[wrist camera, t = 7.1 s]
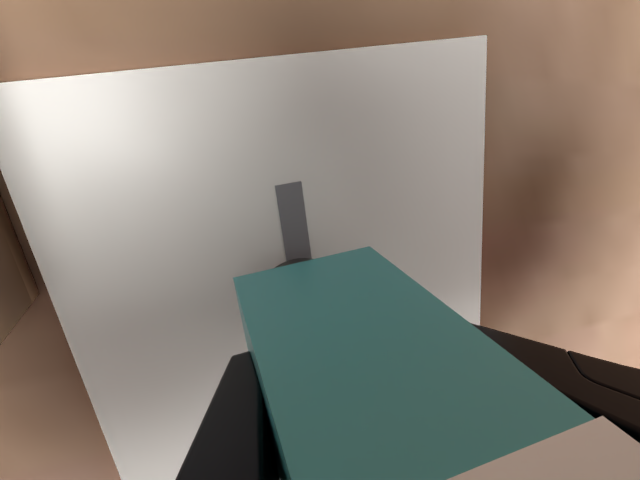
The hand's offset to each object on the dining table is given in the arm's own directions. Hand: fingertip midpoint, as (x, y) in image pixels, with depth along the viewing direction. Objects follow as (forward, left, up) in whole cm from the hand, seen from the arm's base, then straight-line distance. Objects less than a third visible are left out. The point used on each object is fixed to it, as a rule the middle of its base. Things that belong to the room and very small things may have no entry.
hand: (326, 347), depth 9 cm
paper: (-2, 0, -3) cm, 4 cm away
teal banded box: (0, 0, -2) cm, 2 cm away
